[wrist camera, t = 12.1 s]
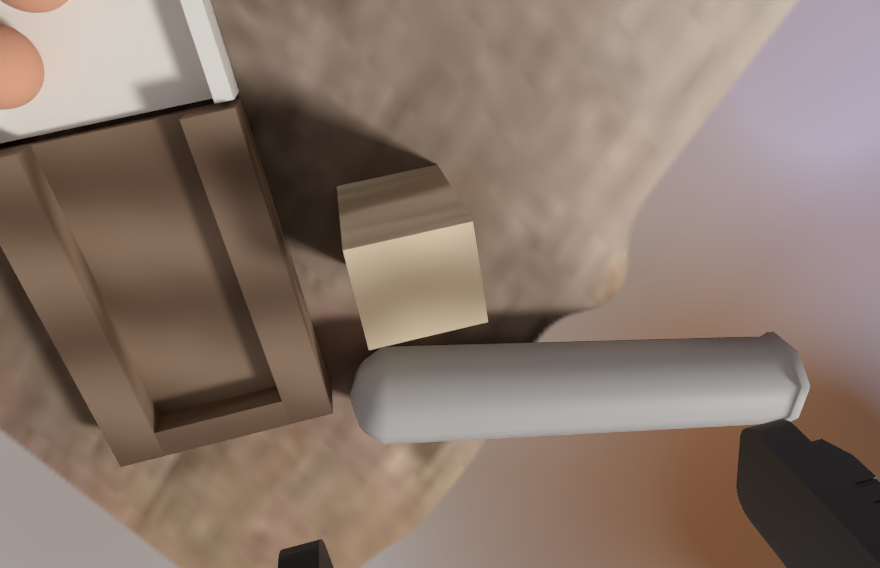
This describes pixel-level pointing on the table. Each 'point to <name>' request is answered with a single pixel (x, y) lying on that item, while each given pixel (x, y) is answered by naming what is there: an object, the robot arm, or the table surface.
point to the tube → (575, 387)
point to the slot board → (164, 279)
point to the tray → (118, 62)
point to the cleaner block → (410, 256)
